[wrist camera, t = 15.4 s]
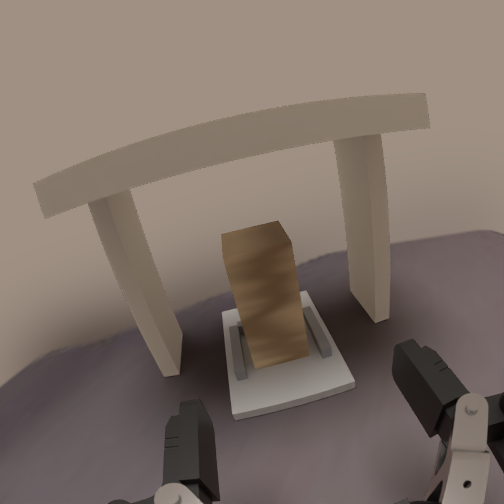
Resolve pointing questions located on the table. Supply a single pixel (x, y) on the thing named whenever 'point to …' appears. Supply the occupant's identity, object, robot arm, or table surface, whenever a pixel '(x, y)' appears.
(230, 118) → the bench shelf
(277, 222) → the birch block
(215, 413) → the table surface
